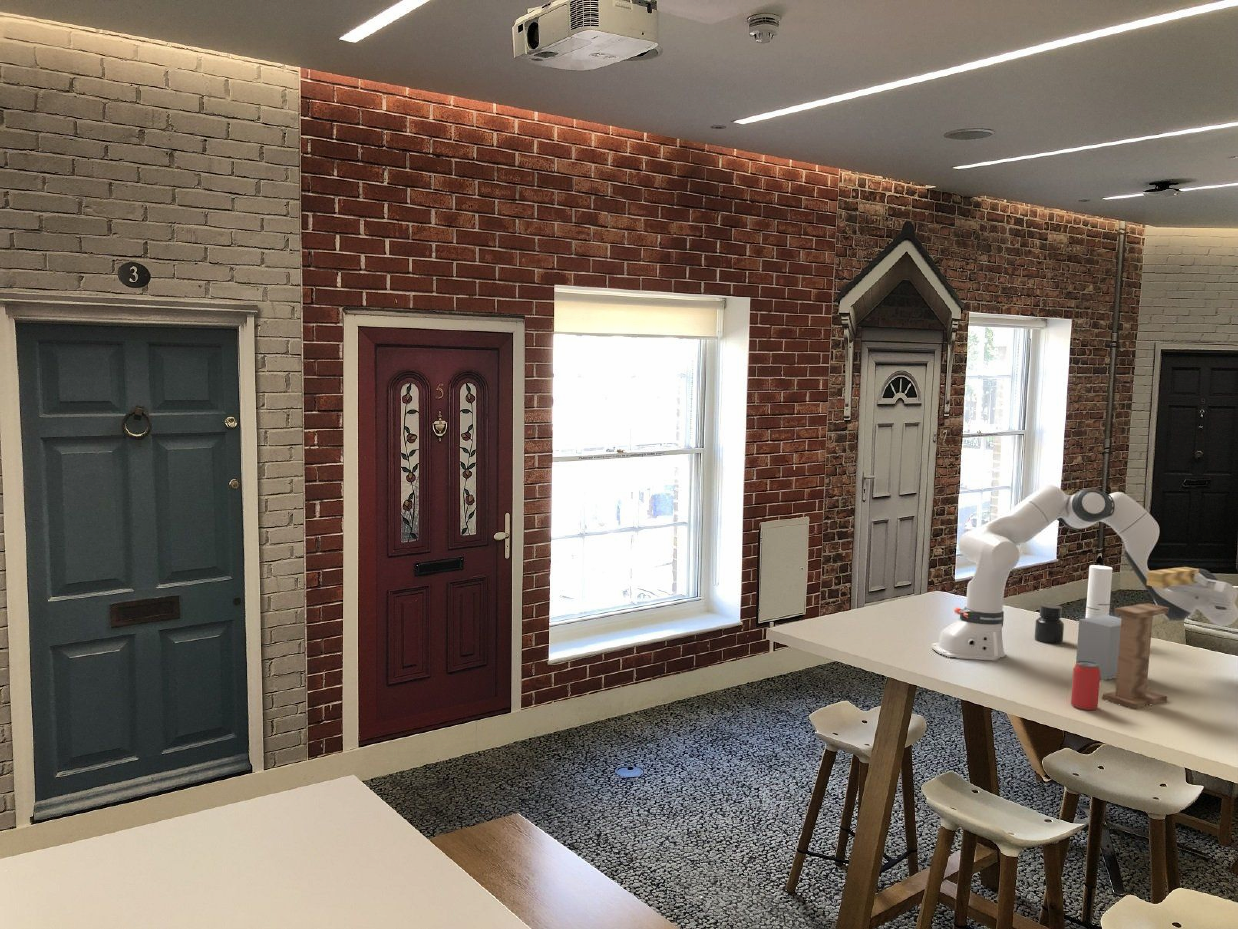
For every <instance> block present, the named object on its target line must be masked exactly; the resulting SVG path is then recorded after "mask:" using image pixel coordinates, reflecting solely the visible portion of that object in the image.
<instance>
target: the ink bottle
mask: <svg viewBox="0 0 1238 929" xmlns="http://www.w3.org/2000/svg"><path fill="white" fill-rule="evenodd" d="M1062 610H1063V607H1062V606H1060V605H1059V604H1052V603H1050V604H1049V603H1042V604H1039V617H1038V618H1037V619H1036V620H1035V625H1034V640H1036V641H1038V642H1041V641H1042V643H1045V644H1062V643H1063V642H1064V633H1065V623H1064V621H1063V620H1061V618H1062V612H1063V611H1062Z"/></svg>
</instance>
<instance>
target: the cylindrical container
mask: <svg viewBox="0 0 1238 929" xmlns="http://www.w3.org/2000/svg"><path fill="white" fill-rule="evenodd" d="M1112 579H1113V567H1111V566H1107V565H1098V564H1096V565H1095V564H1091V565H1089V568H1088V581H1087V593H1086V595H1087V596H1086V597H1087V598H1086V607H1085V618H1091V617H1097V616H1103V615H1109V616H1110V605H1111V595H1112V594H1111V591H1112V582H1113V581H1112Z"/></svg>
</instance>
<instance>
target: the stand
mask: <svg viewBox="0 0 1238 929" xmlns="http://www.w3.org/2000/svg"><path fill="white" fill-rule="evenodd" d="M1166 613H1169V608H1168V607H1164V606H1159V605H1156V604H1154V603H1149V602H1147V603H1140V604H1134V605H1128V606H1121V607H1120V606H1119V607H1116V608H1114V612H1113V614H1114V615H1118V616H1121V617H1120V618H1121V631H1120V644H1119V656H1118V669H1117V678H1116V681H1115V682H1116V683H1115V690H1114V691H1110V692H1106V693H1102V697H1101V700H1102V699H1103V700H1102V701H1106V700H1108V701H1107V702H1109V701H1110V703H1112V702H1113V704H1117V705H1118V704H1120V705H1119V706H1122V707H1125V708H1128V707H1130V708H1129V709H1131V708H1132V710H1136V709H1139V708H1138V707H1140V708H1144V707H1148V706H1151V705H1150V704H1152V705H1156V704H1160V703H1164V702H1167V701H1168V695H1166V694H1163V693H1160V692H1156V691H1154V690H1150V689H1148V678H1149V675H1148V674H1149V667H1150V666H1149V664H1150V653H1151V643H1152V642H1151V640H1152V629H1153V617H1154V616H1160V615H1162V614H1166ZM1166 700H1167V701H1166ZM1163 701H1164V702H1163ZM1147 705H1148V706H1147ZM1135 708H1136V709H1135Z"/></svg>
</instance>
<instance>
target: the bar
mask: <svg viewBox="0 0 1238 929" xmlns="http://www.w3.org/2000/svg"><path fill="white" fill-rule="evenodd" d="M1199 569H1200V568H1199ZM1199 569H1194V567H1189V566H1180V567H1173V568H1172V567H1171V568H1163V569H1162V568H1161V569H1156V570H1155V569H1154V570H1149V571H1148V573H1147V584H1146V585H1148V586H1153V587H1158V588H1163V589H1165V587H1171V586H1179V585H1186V584H1194V583H1197V582H1195V581H1192V580H1191V576H1192V573H1193V574H1198V573H1199Z"/></svg>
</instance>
